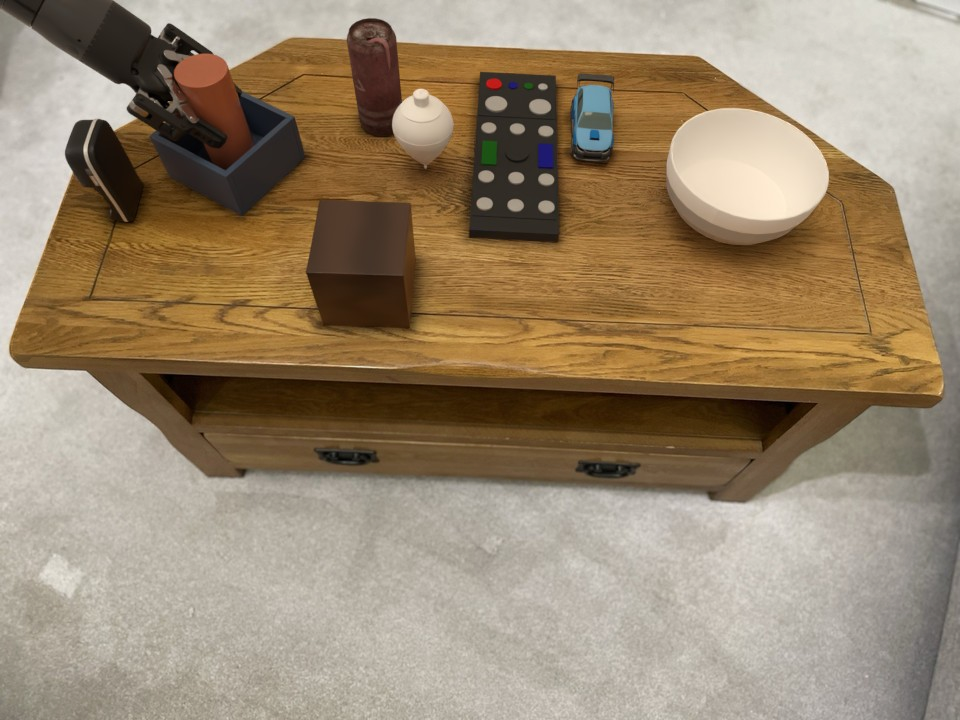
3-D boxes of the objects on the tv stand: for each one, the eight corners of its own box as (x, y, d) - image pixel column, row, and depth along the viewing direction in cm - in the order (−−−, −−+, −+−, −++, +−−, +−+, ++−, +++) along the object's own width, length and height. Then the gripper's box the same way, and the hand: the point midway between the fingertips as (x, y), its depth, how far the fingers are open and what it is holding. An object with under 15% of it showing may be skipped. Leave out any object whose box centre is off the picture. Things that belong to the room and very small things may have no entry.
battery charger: (115, 184, 87) (71, 112, 77) (145, 183, 87) (105, 111, 77) (103, 225, 83) (55, 155, 73) (134, 224, 83) (90, 154, 73)
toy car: (568, 165, 90) (574, 132, 85) (569, 106, 96) (575, 71, 91) (611, 168, 90) (620, 135, 85) (609, 109, 96) (617, 75, 91)
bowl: (817, 197, 89) (850, 146, 81) (766, 292, 80) (797, 246, 73) (687, 140, 93) (708, 88, 86) (627, 225, 85) (643, 175, 78)
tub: (242, 216, 84) (225, 177, 78) (169, 176, 87) (148, 136, 82) (305, 157, 90) (294, 116, 84) (235, 122, 93) (219, 80, 87)
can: (385, 144, 91) (374, 53, 79) (351, 124, 93) (335, 32, 81) (413, 121, 94) (407, 29, 82) (380, 102, 96) (368, 9, 84)
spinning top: (386, 161, 90) (377, 85, 79) (435, 140, 92) (432, 64, 82) (414, 197, 87) (408, 123, 76) (464, 175, 89) (465, 100, 78)
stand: (323, 325, 76) (305, 272, 68) (334, 257, 81) (319, 199, 73) (409, 328, 77) (403, 275, 68) (415, 259, 82) (410, 202, 73)
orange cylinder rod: (265, 169, 87) (234, 77, 75) (221, 184, 86) (181, 93, 74) (251, 141, 90) (218, 47, 78) (207, 155, 88) (167, 62, 76)
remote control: (554, 84, 99) (556, 72, 97) (557, 242, 84) (559, 231, 82) (479, 80, 99) (480, 68, 97) (469, 237, 84) (469, 226, 82)
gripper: (83, 49, 66) (234, 144, 76) (126, -33, 73) (258, 64, 83) (58, 92, 70) (203, 176, 81) (100, 11, 78) (229, 98, 88)
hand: (231, 119), depth 82 cm, fingers open, 7 cm apart
